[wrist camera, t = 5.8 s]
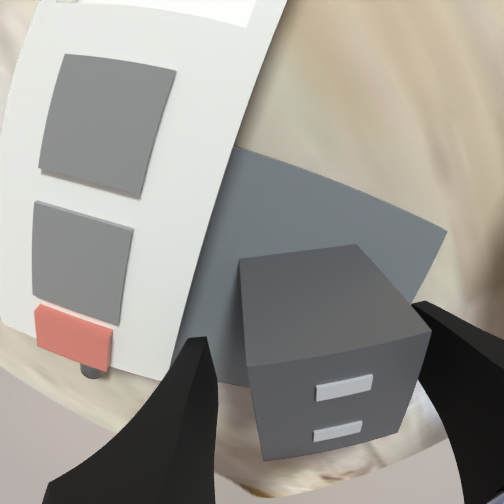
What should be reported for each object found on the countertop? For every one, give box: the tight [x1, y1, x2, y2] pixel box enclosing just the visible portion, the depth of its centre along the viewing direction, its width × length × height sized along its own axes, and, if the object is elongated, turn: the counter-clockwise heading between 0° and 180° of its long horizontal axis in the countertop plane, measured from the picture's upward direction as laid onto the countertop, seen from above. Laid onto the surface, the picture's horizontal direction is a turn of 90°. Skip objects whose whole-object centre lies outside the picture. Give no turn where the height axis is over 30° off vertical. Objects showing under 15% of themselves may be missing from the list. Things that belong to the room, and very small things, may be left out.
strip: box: [0, 0, 287, 381], centre depth 7 cm, size 25×7×4 cm, turn 161°
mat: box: [169, 146, 447, 387], centre depth 13 cm, size 10×10×1 cm
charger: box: [239, 244, 432, 461], centre depth 10 cm, size 4×4×6 cm
